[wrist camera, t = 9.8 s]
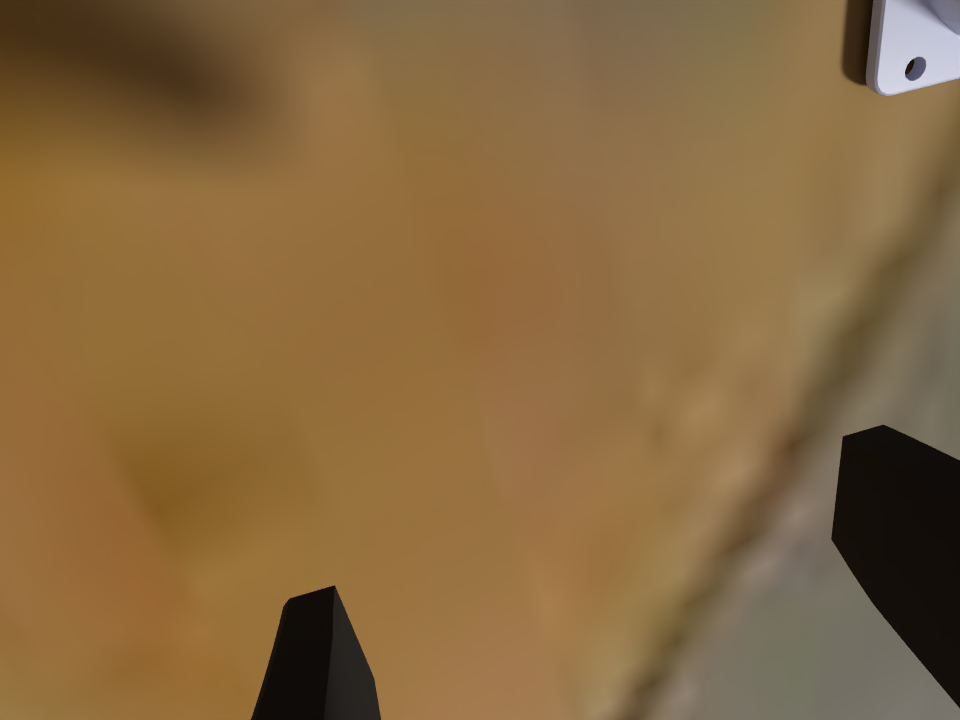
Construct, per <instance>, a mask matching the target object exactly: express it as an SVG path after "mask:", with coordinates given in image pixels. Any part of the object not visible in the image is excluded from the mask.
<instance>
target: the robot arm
mask: <svg viewBox="0 0 960 720" xmlns="http://www.w3.org/2000/svg"><path fill="white" fill-rule="evenodd" d="M912 59H914V65H913V68H912V70H911V71H910V72H909V74H908V75H906V76H905V70H906V67H907V65H908V63H909V62H910V61H911V60H912ZM959 78H960V0H873V9H872V19H871V29H870V39H869V49H868V59H867V69H866V84H867V86H868V87H869V89H870V90H871V91H873V92H875V93H878V94H881V95H883V96H891V95H895V94H899V93H903V92H907V91H911V90H915V89H919V88H923V87H927V86H931V85H935V84H939V83H943V82H947V81H951V80H955V79H959ZM831 539H832V541H833V543H834V544H835V546H836V547H837V549H838V551H839V552H840V554H841V555H842V557H843V559H844V560H845V562H846V563H847V565H848V567H849V568H850V570H851V571H852V573H853V575H854V576H855V578H856V579H857V581H858V582H859V584H860V585H861V587H862V588H863V590H864V591H865V592H866V594H867V595H868V597H869V598H870V600H871V601H872V603H873V604H874V605H875V607H876V608H877V609H878V610H879V612H880V613H881V614H882V615H883V617H884V618H885V619H886V620H887V622H888V623H889V624H890V625H891V626H892V628H893V629H894V630H895V631H896V632H897V634H898V635H899V636H900V637H901V639H902V640H903V641H904V642H905V643H906V645H907V646H908V647H909V648H910V649H911V651H912V652H913V653H914V654H915V655H916V657H917V658H918V659H919V660H920V661H921V663H922V664H923V665H924V666H925V667H926V669H927V670H928V671H929V672H930V673H931V674H932V676H933V677H934V678H935V679H936V680H937V682H938V683H939V684H940V685H941V686H942V688H943V689H944V690H945V691H946V692H947V694H948V695H949V696H950V697H951V698H952V700H953V701H954V702H955V703H956V704H957V705H958V707H959V708H960V460H957V459H955V458H953V457H951V456H949V455H947V454H945V453H943V452H941V451H939V450H937V449H935V448H933V447H931V446H929V445H927V444H924V443H922V442H920V441H918V440H916V439H914V438H912V437H910V436H907V435H905V434H903V433H901V432H899V431H897V430H894V429H892V428H890V427H888V426H885V425H880V426H877V427H874V428H870V429H867V430H863V431H860V432H857V433H853V434H850V435H846V436H843V440H842V449H841V458H840V467H839V476H838V485H837V493H836V502H835V511H834V520H833V529H832V538H831ZM251 720H381V716H380V710H379V704H378V699H377V693H376V687H375V681H374V677H373V675H372V672H371V670H370V667H369V665H368V663H367V660H366V658H365V656H364V653H363V651H362V649H361V646H360V644H359V641H358V639H357V637H356V634H355V632H354V630H353V627H352V625H351V623H350V620H349V618H348V615H347V613H346V611H345V608H344V606H343V604H342V601H341V599H340V596H339V594H338V592H337V589H336V587H335V585H334V586H331V587H327V588H324V589H320V590H317V591H314V592H310V593H307V594H303V595H300V596H297V597H293V598H290V599H289V600H288V601H287V602H286V604H285V605H284V607H283V610H282V615H281V619H280V623H279V627H278V631H277V635H276V638H275V642H274V646H273V649H272V653H271V657H270V660H269V664H268V667H267V670H266V674H265V677H264V680H263V684H262V687H261V690H260V693H259V697H258V700H257V703H256V706H255V709H254V712H253V715H252V718H251Z"/></svg>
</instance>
